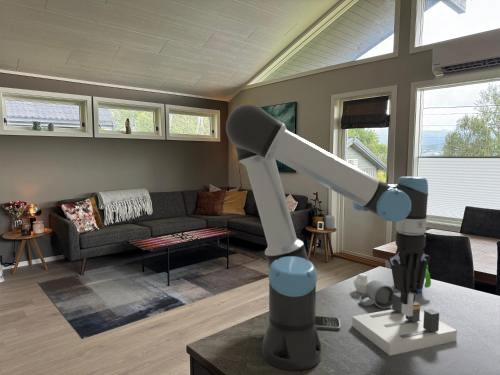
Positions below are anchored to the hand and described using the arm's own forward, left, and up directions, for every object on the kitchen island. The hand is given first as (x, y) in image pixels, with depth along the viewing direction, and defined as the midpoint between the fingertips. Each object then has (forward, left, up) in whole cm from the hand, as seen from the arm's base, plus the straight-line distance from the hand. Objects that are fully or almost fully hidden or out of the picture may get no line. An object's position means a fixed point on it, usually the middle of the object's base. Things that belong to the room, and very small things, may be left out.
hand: (407, 314), depth 98 cm
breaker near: (+2, -6, -2) cm, 7 cm away
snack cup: (+26, +25, -6) cm, 36 cm away
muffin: (+7, +29, -6) cm, 30 cm away
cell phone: (-20, +12, -6) cm, 25 cm away
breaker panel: (-1, 0, -5) cm, 6 cm away
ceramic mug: (+4, +19, -6) cm, 20 cm away
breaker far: (+3, +6, -2) cm, 7 cm away
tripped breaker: (+2, 0, -2) cm, 3 cm away
